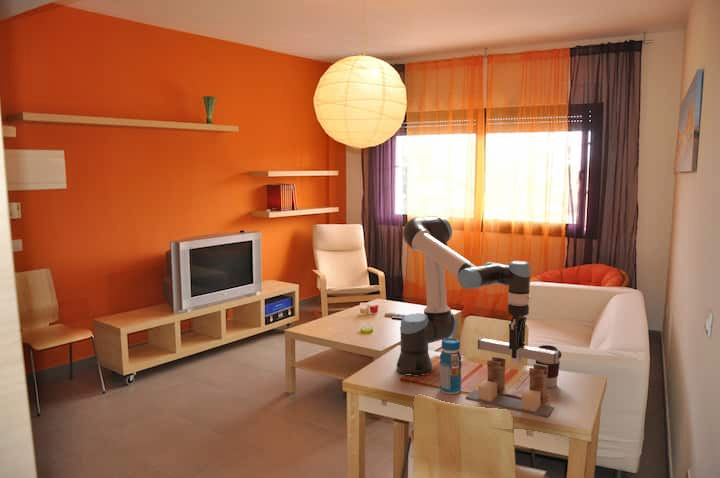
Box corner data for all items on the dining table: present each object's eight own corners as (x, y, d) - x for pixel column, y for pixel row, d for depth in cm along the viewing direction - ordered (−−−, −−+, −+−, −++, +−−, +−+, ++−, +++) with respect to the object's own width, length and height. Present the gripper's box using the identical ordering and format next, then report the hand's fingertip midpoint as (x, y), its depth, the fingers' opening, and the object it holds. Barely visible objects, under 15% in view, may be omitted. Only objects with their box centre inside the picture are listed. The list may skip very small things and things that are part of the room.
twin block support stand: (465, 398, 206) (465, 384, 205) (473, 391, 213) (474, 377, 212) (547, 417, 190) (548, 401, 189) (553, 408, 196) (554, 393, 195)
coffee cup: (531, 386, 216) (532, 349, 214) (536, 378, 225) (537, 342, 223) (558, 391, 211) (559, 353, 209) (561, 382, 220) (563, 345, 218)
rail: (477, 349, 213) (477, 339, 213) (481, 346, 216) (481, 336, 216) (555, 364, 197) (555, 353, 197) (558, 360, 200) (558, 350, 200)
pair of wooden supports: (485, 391, 212) (486, 360, 210) (491, 386, 217) (491, 355, 215) (543, 404, 200) (544, 371, 198) (548, 398, 205) (549, 366, 203)
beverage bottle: (437, 393, 211) (437, 342, 209) (442, 384, 219) (442, 336, 216) (459, 396, 208) (459, 344, 206) (463, 387, 216) (463, 338, 213)
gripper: (521, 309, 195) (519, 373, 198) (535, 299, 209) (532, 359, 212) (500, 306, 199) (499, 369, 202) (515, 297, 213) (513, 355, 216)
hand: (516, 363), depth 207 cm, fingers closed on rail, 3 cm apart
